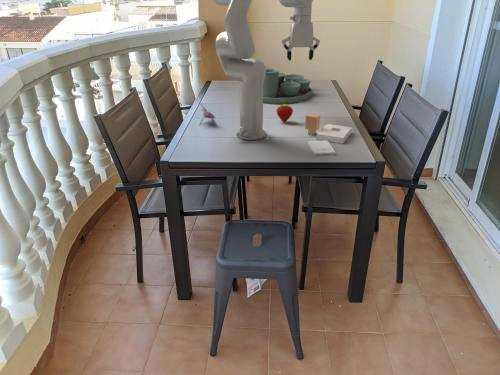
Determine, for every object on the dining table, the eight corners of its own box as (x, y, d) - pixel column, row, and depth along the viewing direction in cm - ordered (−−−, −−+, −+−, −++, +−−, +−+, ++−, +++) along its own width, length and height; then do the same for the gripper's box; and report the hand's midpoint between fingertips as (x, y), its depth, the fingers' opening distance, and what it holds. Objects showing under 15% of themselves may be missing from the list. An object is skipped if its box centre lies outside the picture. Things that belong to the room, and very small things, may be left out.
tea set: (320, 102, 216) (323, 71, 208) (247, 106, 211) (246, 74, 203) (301, 85, 251) (302, 57, 243) (237, 88, 245) (236, 60, 238)
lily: (214, 131, 180) (222, 111, 178) (189, 121, 178) (197, 100, 177) (214, 130, 191) (221, 111, 190) (190, 121, 189) (198, 101, 188)
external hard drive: (327, 144, 164) (335, 156, 153) (307, 144, 163) (314, 156, 152) (327, 140, 163) (336, 152, 152) (308, 141, 162) (314, 152, 151)
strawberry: (292, 124, 184) (293, 103, 179) (275, 123, 185) (276, 102, 180) (292, 120, 189) (293, 99, 184) (276, 119, 190) (277, 98, 185)
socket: (342, 143, 162) (343, 137, 161) (316, 139, 167) (316, 133, 165) (351, 133, 173) (351, 127, 172) (326, 129, 178) (327, 123, 176)
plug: (316, 135, 170) (317, 117, 167) (304, 134, 172) (305, 116, 169) (318, 133, 174) (320, 115, 170) (307, 131, 176) (309, 113, 172)
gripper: (284, 20, 171) (282, 61, 179) (324, 19, 173) (320, 61, 181) (280, 18, 178) (279, 58, 185) (319, 18, 180) (316, 58, 187)
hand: (299, 59), depth 183 cm, fingers open, 9 cm apart
